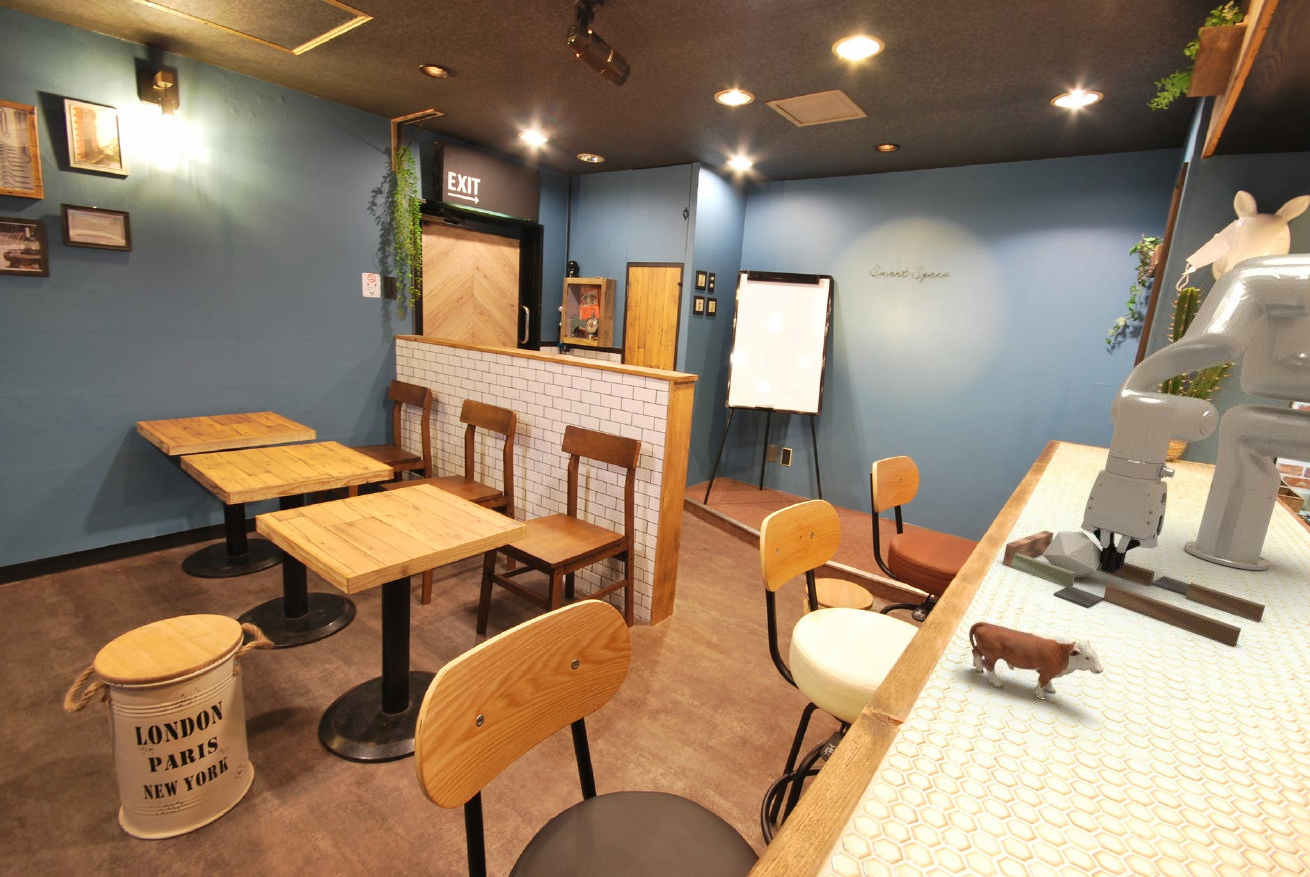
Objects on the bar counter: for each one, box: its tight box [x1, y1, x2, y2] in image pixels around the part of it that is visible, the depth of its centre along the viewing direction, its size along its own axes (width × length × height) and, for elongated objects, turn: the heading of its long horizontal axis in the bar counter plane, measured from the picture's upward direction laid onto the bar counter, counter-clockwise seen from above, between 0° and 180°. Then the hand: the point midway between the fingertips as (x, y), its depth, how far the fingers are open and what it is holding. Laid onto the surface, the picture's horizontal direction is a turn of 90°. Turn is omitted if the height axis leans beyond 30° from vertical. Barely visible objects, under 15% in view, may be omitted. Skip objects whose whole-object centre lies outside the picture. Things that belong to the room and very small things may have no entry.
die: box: [1041, 531, 1102, 579], centre depth 106 cm, size 8×9×10 cm
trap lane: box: [1002, 530, 1266, 647], centre depth 101 cm, size 28×32×4 cm
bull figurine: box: [968, 621, 1104, 698], centre depth 70 cm, size 4×13×8 cm, turn 58°
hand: (1109, 570), depth 103 cm, fingers closed
